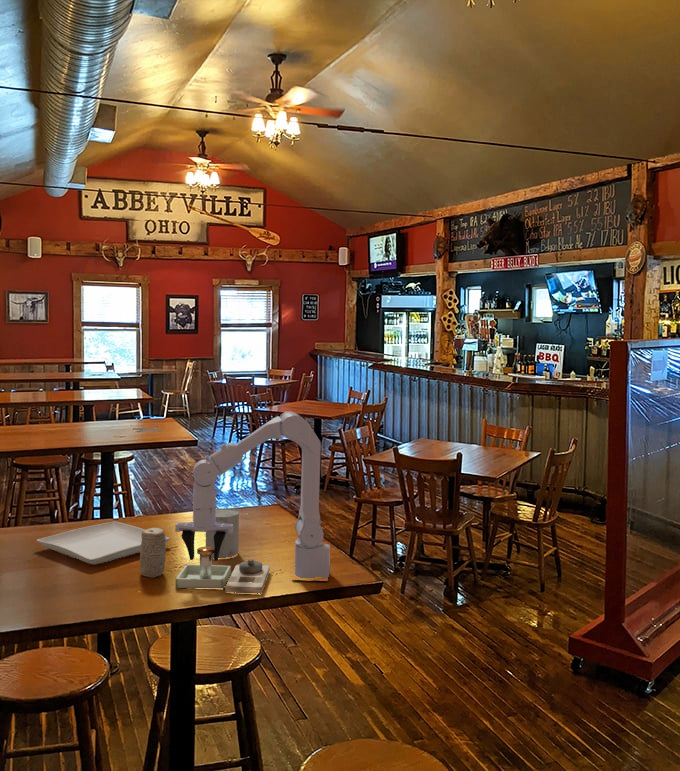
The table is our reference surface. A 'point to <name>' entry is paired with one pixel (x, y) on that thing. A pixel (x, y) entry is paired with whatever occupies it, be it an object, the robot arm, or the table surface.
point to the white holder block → (248, 577)
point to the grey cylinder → (231, 539)
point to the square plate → (97, 542)
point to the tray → (192, 579)
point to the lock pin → (205, 562)
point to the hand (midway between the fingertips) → (204, 559)
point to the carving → (152, 552)
